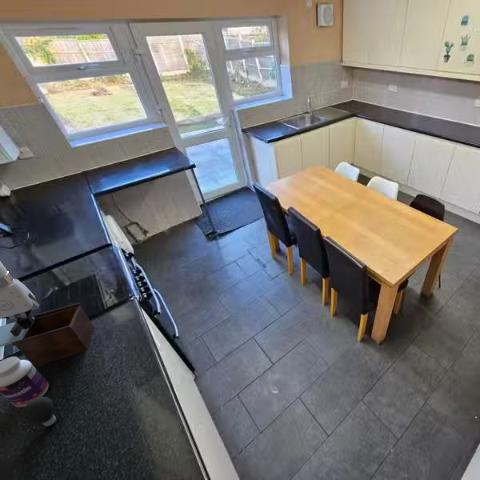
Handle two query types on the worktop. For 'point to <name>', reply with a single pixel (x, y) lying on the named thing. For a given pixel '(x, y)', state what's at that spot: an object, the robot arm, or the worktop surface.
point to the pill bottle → (21, 381)
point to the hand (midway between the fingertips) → (29, 325)
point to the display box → (56, 335)
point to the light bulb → (39, 411)
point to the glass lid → (11, 333)
